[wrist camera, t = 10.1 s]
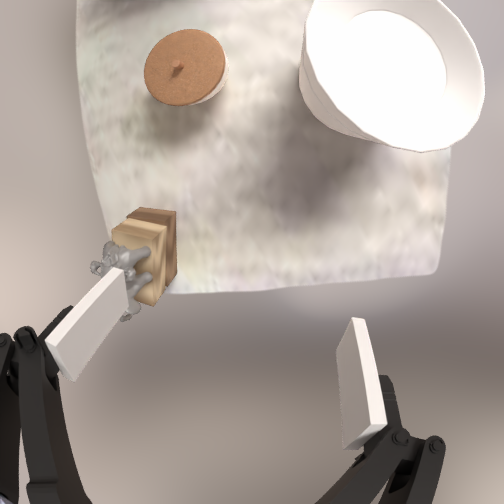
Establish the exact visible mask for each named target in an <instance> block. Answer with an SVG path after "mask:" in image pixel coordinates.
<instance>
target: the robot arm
mask: <svg viewBox="0 0 504 504" xmlns="http://www.w3.org/2000/svg"><path fill="white" fill-rule="evenodd" d="M128 307H129V304H128V297H127V291H126V283H125V276H124V270H122V269H118V268H114V267H113V268H112V269H111V270H110V271H109V272H108V273H107V274H106V275H105V276H104V277H103V278H102V279H101V280H100V281H99V282H98V283H97V284H96V285H95V286H94V287H93V288H92V289H91V290H90V291H89V292H88V293H87V294H86V295H85V296H84V297H83V298H82V299H81V300H80V301H79V303H78V304H77V305H76V306H75V307H73V306H71V305H70V306H69V307H67V308H65V309H63V310H62V311H61V312H60V313H59V314H58V315H57V317H56V318H55V319H54V320H53V322H51V323H50V324H49V325H48V326H47V328H46V329H45V330H44V331H43V332H42V333H41V334H40V335H39V336H38V337H37V335H36V333H35V331H34V329H33V328H32V327H29V326H24V327H21V328H19V329H18V330H17V331H16V332H15V334H14V337H13V338H14V340H15V341H13V340H12V339H11V336H10V335H8V334H7V333H1V334H0V504H18V500H19V445H20V432H21V430H22V439H23V445H24V452H25V457H26V463H27V467H28V472H29V477H30V482H29V483H28V484H27V486H26V489H27V495H28V498H29V501H30V504H92V502H91V501H90V499H89V498H88V497H87V496H86V494H85V492H84V489H83V486H82V483H81V480H80V477H79V474H78V471H77V468H76V465H75V461H74V458H73V454H72V450H71V446H70V442H69V438H68V434H67V430H66V424H65V419H64V413H63V408H62V401H61V396H60V387H59V379H58V375H57V373H58V372H59V370H60V371H61V373H62V375H63V377H65V378H67V379H69V380H70V381H72V382H75V381H76V379H77V378H78V376H79V375H80V373H81V372H82V370H83V369H84V367H85V366H86V364H87V363H88V362H89V360H90V359H91V357H92V356H93V354H94V353H95V352H96V350H97V349H98V347H99V346H100V345H101V343H102V342H103V340H104V339H105V338H106V336H107V335H108V333H109V332H110V331H111V329H112V328H113V327H114V325H115V324H116V323H117V321H118V320H119V319H120V317H121V316H122V315H123V313H124V312H125V311H126V309H127V308H128ZM336 358H337V367H338V377H339V388H340V402H341V416H342V436H343V450H358V449H359V448H360V447H362V446H363V445H364V452H363V453H362V454H360V455H359V456H358V457H356V458H355V460H356V461H355V462H354V463H353V464H352V466H351V467H350V468H349V469H348V470H347V471H346V473H345V474H344V475H343V476H342V477H341V478H340V479H339V480H338V481H337V482H336V483H335V484H334V486H332V487H331V488H330V489H329V491H328V492H327V493H326V494H325V495H323V497H322V498H321V499H319V500H318V501H317V502H316V503H315V504H370V503H371V502H372V501H373V499H374V498H375V497H376V495H377V494H378V493H379V491H380V490H381V489H382V487H383V486H384V485H385V483H386V481H388V483H387V485H386V488H385V490H384V492H383V495H382V497H381V499H380V501H379V503H378V504H432V501H433V498H434V495H435V491H436V488H437V484H438V481H439V477H440V473H441V469H442V465H443V459H444V455H445V450H446V445H445V443H444V441H443V440H442V438H440V437H439V436H431V437H429V438H428V439H426V440H423V439H419V438H415V437H412V436H410V434H409V432H408V431H407V430H406V429H404V428H402V425H401V419H400V415H399V410H398V405H397V401H396V396H395V394H394V393H395V391H394V387H393V383H392V382H391V380H390V379H389V377H388V376H387V375H378V372H377V368H376V363H375V359H374V355H373V351H372V346H371V342H370V338H369V335H368V331H367V327H366V323H365V319H360V318H354V317H352V319H351V321H350V323H349V325H348V327H347V329H346V331H345V334H344V335H343V337H342V339H341V341H340V344H339V345H338V348H337V350H336ZM7 372H8V374H7ZM388 479H389V480H388Z"/></svg>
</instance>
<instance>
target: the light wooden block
mask: <svg viewBox="0 0 504 504" xmlns="http://www.w3.org/2000/svg"><path fill="white" fill-rule="evenodd" d="M166 231H167V226H163V225H159V224H154V223H150V222H145V221H140V220H136V219H131V218H128V219H126V220H125V221H123V222H122V223H121V224H119V225H118V226H116V227H115V228H114V229H112V241H114V242H115V245H116V244H118V245H119V247H120V246H121V245H124V246H125V247H126V248H127V249H130V250H135V249H139V248H142V247H143V246H148V247H149V248H150V249H151V254H150V256H148V257H146V258H142V259H141V260H139V261H137V262H136V264H135V265H134V267H133V268H134V269H135V271H136V275H139V274H142V273H144V272H150V273H151V274H152V277H153V278H152V280H151V281H150V282H148V283H146V284H145V285H144V286H143V287H142V288H141V290H140V291H139V292H138V293H137V294H136V296H135V297H134V299H135V300H136V301H138V302H141V303H144V304H147V305H150V306H154V305H155V304H156V302H157V301H158V300H159V298H160V297H161V295H162V294H163V292H164V291H165V267H166Z"/></svg>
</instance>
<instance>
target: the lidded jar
mask: <svg viewBox="0 0 504 504" xmlns="http://www.w3.org/2000/svg"><path fill="white" fill-rule="evenodd" d="M228 72H229V63H228V58H227V56H226V53H225V51H224V50H223V48H222V47H221V45H220V44H219V42H218V41H217V40H216V39H215V38H214V37H213V36H211V35H210V34H208V33H206V32H204V31H200V30H195V29H186V30H180V31H177V32H174V33H172V34H170V35H168V36H166V37H165V38H163V39H162V40H161V41H159V42H158V43H157V44H156V45H155V47H154V48H153V49H152V51H151V52H150V54H149V56H148V58H147V60H146V64H145V68H144V79H145V84H146V86H147V89H148V90H149V92H150V93H151V94H152V96H153V97H154V98H156V99H157V100H158V101H160V102H162V103H165V104H167V105H173V106H184V105H194V104H198V103H202V102H204V101H206V100H208V99H210V98H211V97H213V96H214V95H215V94H217V93H218V92H219V91H220V90H221V88H222V87H223V85H224V84H225V82H226V80H227V77H228Z"/></svg>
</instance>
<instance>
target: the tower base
mask: <svg viewBox="0 0 504 504" xmlns="http://www.w3.org/2000/svg"><path fill="white" fill-rule="evenodd" d="M128 218H131V219H136V220H140V221H145V222H150V223H154V224H159V225H163V226H167V231H166V267H165V286H167V287H168V285H169V284H170V283H171V281H172V280H173V278H174V277H175V275H176V274H177V252H176V212H175V211H167V210H159V209H151V208H143V207H140V208H138V209H137V210H135V211H134V212H132V213H131V214H129V215H128V216H127V219H128Z"/></svg>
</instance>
